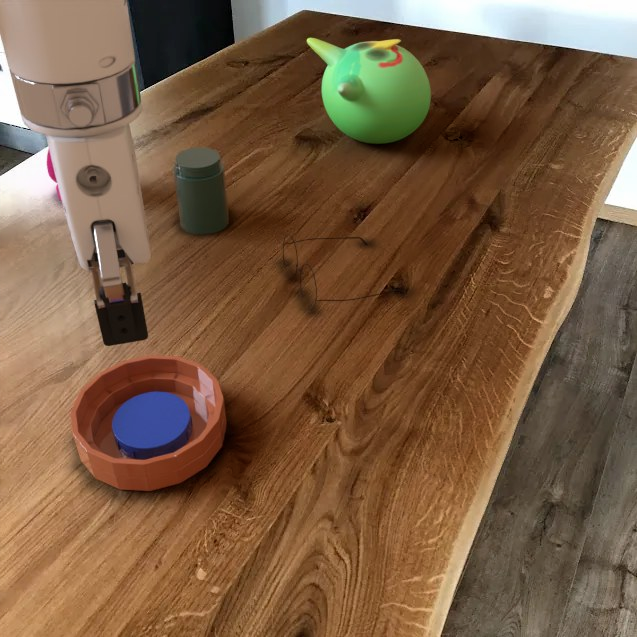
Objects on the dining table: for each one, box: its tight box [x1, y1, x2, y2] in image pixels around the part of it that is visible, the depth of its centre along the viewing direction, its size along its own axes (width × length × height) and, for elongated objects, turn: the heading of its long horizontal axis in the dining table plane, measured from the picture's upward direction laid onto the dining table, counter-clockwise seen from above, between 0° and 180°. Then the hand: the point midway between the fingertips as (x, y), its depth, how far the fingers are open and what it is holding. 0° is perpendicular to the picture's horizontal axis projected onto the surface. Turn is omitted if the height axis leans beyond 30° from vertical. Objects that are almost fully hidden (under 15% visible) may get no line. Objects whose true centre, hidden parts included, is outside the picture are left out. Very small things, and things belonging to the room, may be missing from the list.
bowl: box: [69, 354, 228, 492], centre depth 65 cm, size 13×13×4 cm
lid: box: [112, 392, 193, 460], centre depth 66 cm, size 7×7×2 cm
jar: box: [172, 146, 230, 235], centre depth 91 cm, size 6×6×9 cm
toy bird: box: [306, 37, 432, 145], centre depth 109 cm, size 18×17×15 cm
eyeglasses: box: [282, 234, 405, 311], centre depth 83 cm, size 11×13×5 cm
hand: (121, 300), depth 57 cm, fingers open, 9 cm apart
